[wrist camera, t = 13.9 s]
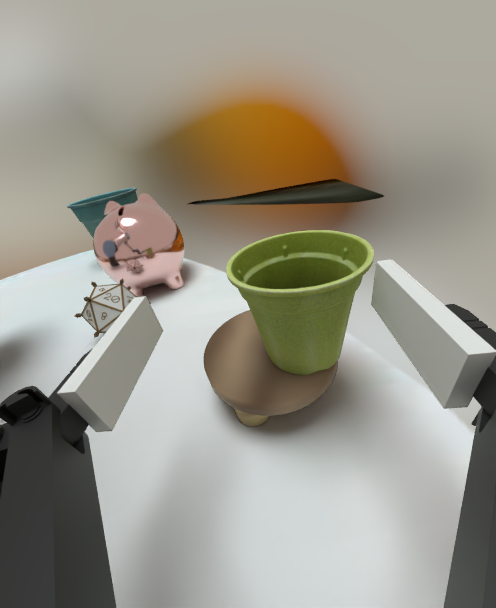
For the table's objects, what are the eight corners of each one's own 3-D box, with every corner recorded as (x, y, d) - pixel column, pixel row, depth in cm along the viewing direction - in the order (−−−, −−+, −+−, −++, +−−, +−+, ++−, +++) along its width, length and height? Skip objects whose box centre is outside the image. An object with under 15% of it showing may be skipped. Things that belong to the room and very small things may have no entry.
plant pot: (227, 371, 20) (196, 280, 15) (276, 307, 26) (265, 229, 21) (346, 417, 15) (356, 304, 10) (371, 325, 21) (384, 229, 16)
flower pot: (139, 266, 59) (107, 197, 50) (88, 271, 64) (49, 209, 55) (170, 242, 72) (148, 184, 63) (125, 247, 77) (99, 194, 68)
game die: (149, 340, 39) (167, 287, 36) (109, 365, 31) (128, 300, 28) (104, 315, 40) (118, 261, 37) (54, 333, 32) (66, 266, 29)
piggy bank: (192, 256, 58) (167, 185, 49) (197, 289, 43) (163, 195, 34) (128, 273, 56) (92, 203, 48) (111, 314, 41) (53, 222, 33)
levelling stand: (206, 440, 20) (189, 409, 18) (224, 341, 30) (214, 312, 27) (355, 432, 18) (359, 397, 16) (321, 330, 28) (321, 299, 26)
